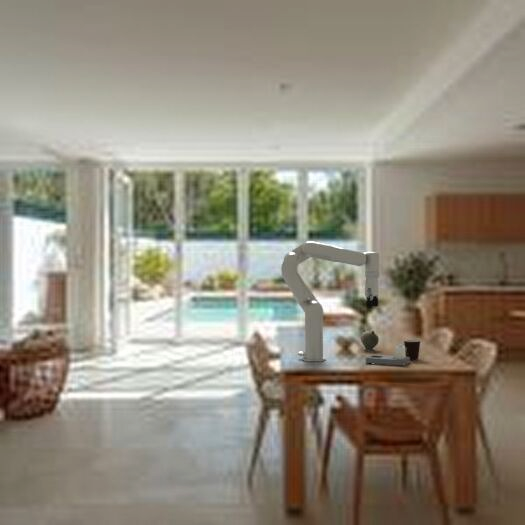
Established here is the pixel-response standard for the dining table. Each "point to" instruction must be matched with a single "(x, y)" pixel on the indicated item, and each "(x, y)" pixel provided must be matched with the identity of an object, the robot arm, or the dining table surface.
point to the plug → (400, 352)
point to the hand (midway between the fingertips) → (372, 306)
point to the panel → (387, 360)
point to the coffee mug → (412, 348)
